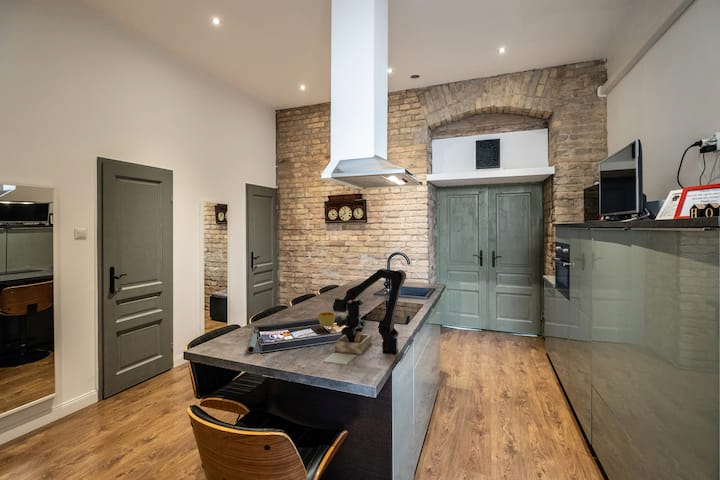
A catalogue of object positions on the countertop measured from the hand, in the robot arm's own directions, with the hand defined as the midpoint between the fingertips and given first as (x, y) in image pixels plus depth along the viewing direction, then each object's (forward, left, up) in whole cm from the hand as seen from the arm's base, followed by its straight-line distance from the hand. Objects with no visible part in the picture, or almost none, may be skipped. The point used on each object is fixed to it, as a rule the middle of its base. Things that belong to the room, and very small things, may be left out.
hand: (353, 344), depth 169 cm
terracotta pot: (0, 0, -1) cm, 1 cm away
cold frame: (0, 0, -1) cm, 1 cm away
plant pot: (+26, -24, -2) cm, 35 cm away
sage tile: (0, +18, -1) cm, 18 cm away
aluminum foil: (+49, +12, -2) cm, 50 cm away
